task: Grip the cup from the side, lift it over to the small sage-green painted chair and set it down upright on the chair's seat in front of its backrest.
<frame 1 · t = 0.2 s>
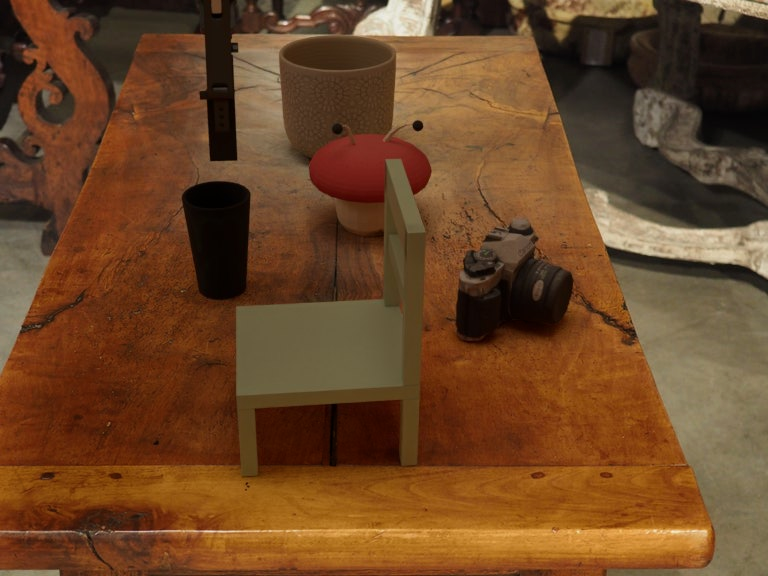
hand: (223, 135, 112), 21 cm above the table, tool pointing down, fingers open, 13 cm apart
mushroom: (369, 225, 141), on the table
cup: (222, 289, 126), on the table
planter: (338, 152, 162), on the table
camera: (516, 319, 121), on the table
chair: (324, 421, 104), on the table
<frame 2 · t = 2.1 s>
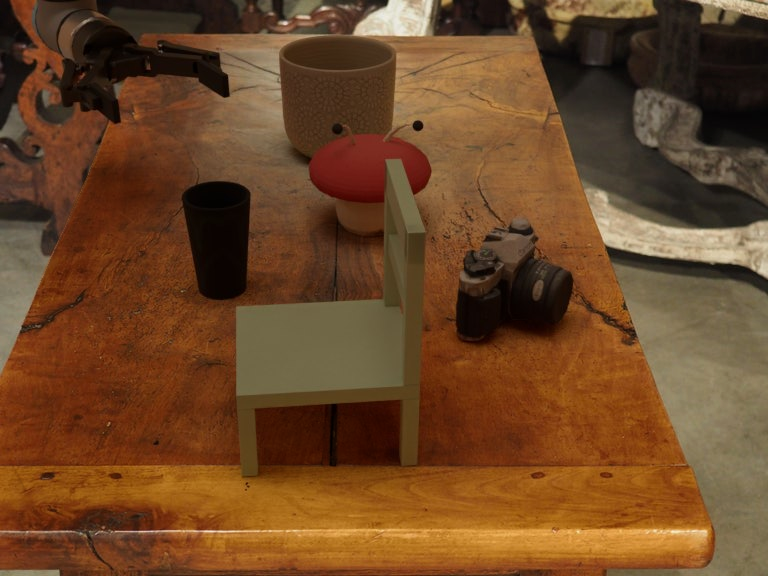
hand: (172, 99, 121), 21 cm above the table, tool horizontal, fingers open, 13 cm apart
nothing on the table moved.
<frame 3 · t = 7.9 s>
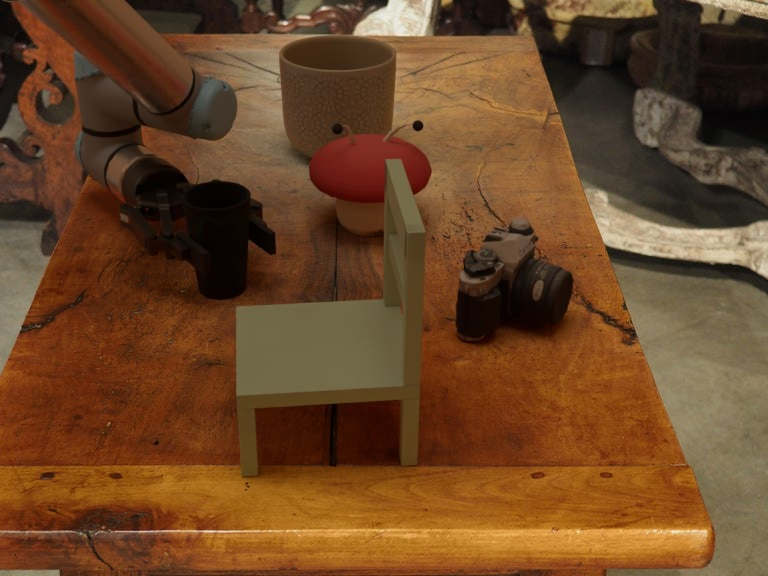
hand: (240, 253, 119), 7 cm above the table, tool horizontal, fingers closed on cup, 8 cm apart
cup: (222, 289, 126), on the table, touching gripper
everything else where it was.
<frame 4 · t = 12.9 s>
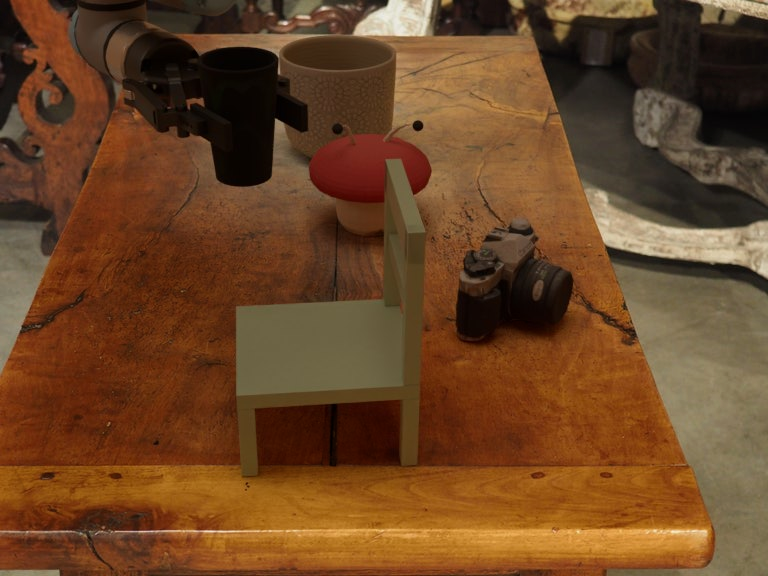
hand: (267, 127, 101), 26 cm above the table, tool horizontal, fingers closed on cup, 8 cm apart
cup: (244, 177, 107), point 19 cm above the table, touching gripper
everything else where it was.
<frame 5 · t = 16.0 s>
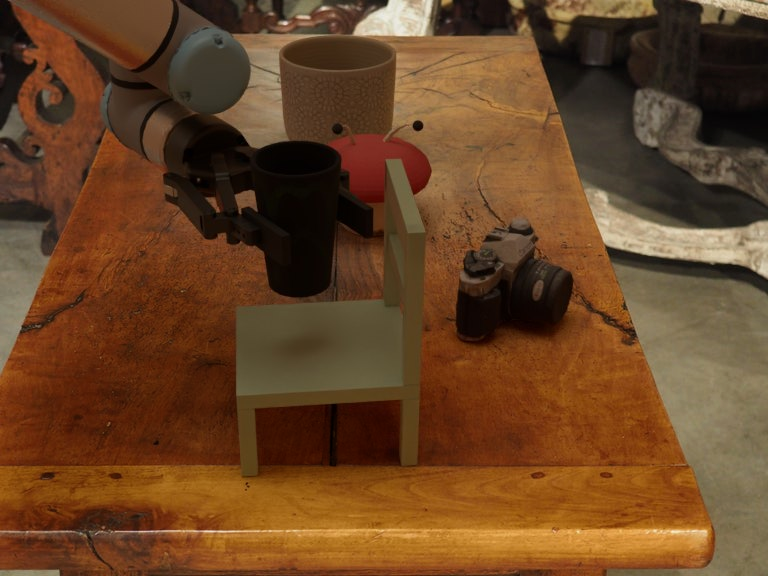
hand: (329, 236, 89), 22 cm above the table, tool horizontal, fingers closed on cup, 8 cm apart
cup: (299, 283, 96), point 15 cm above the table, touching gripper
everything else where it was.
when the fingers open (16 cm above the table, at t = 18.3 s): cup stays where it is, resting on chair.
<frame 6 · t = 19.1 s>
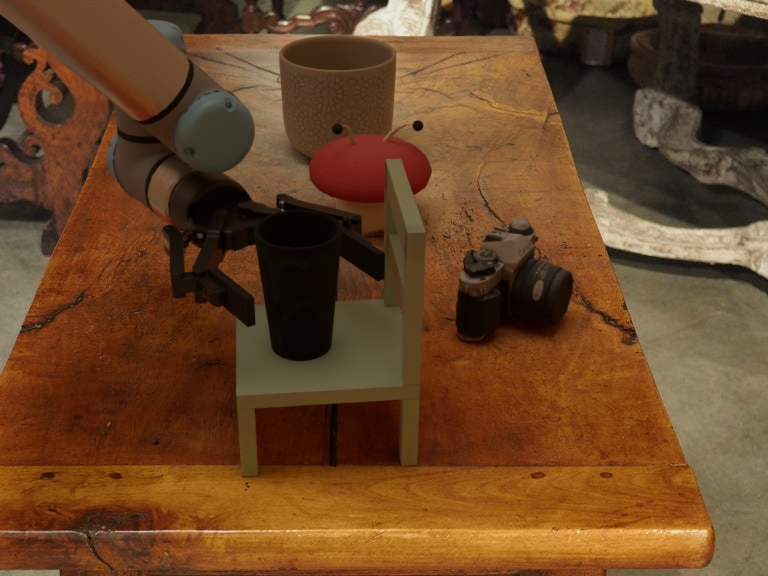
hand: (319, 289, 93), 16 cm above the table, tool horizontal, fingers open, 13 cm apart
cup: (301, 346, 99), point 9 cm above the table, touching chair
everything else where it was.
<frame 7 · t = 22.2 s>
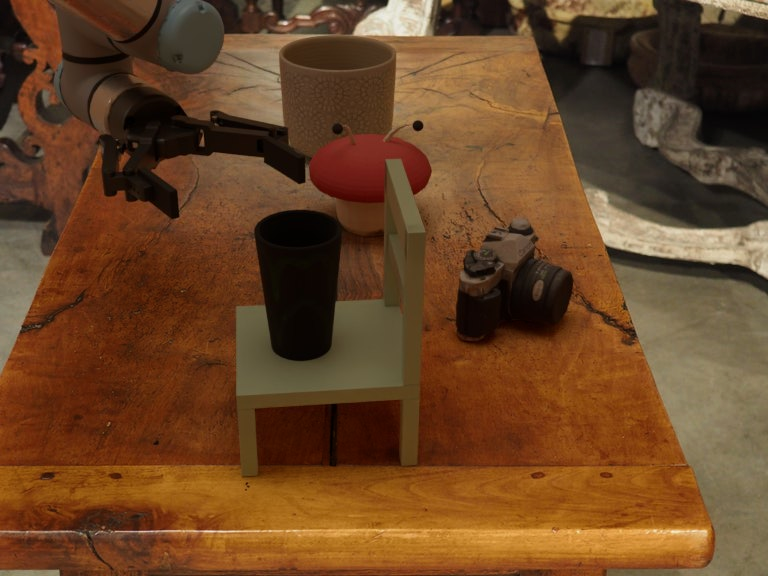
hand: (241, 187, 100), 21 cm above the table, tool horizontal, fingers open, 13 cm apart
nothing on the table moved.
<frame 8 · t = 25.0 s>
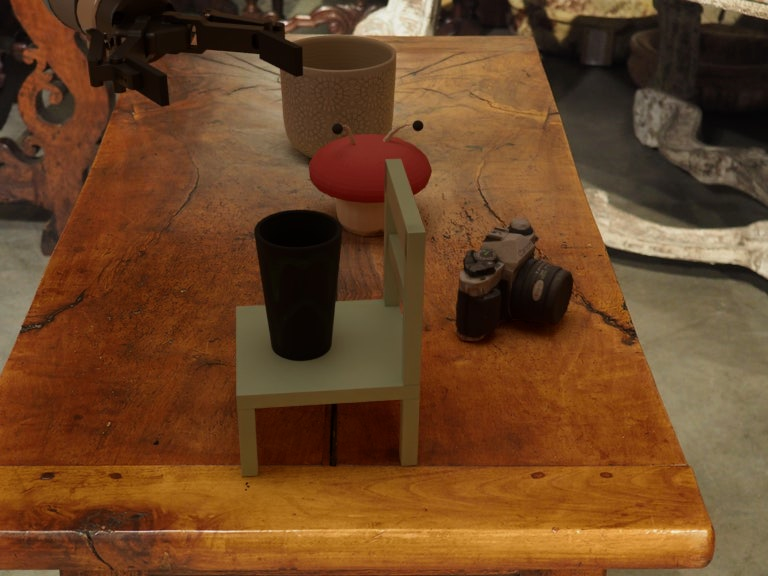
hand: (234, 76, 94), 32 cm above the table, tool horizontal, fingers open, 13 cm apart
nothing on the table moved.
at the end: cup inside the target area on the chair (1.5 cm from its centre), point 8.8 cm above the chair's base; cup tilted 0°; the gripper is holding nothing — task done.
